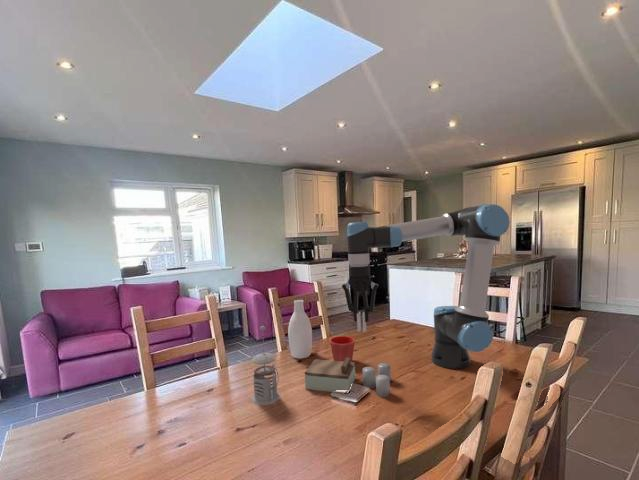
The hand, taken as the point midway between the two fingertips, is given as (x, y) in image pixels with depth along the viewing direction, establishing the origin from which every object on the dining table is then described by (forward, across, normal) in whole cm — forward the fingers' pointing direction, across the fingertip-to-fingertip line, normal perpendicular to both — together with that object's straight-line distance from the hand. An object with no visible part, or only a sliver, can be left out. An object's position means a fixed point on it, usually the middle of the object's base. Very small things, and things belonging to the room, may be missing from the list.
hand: (362, 330), depth 113 cm
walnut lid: (+15, +12, 0) cm, 20 cm away
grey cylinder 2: (+20, -6, -6) cm, 22 cm away
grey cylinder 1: (+20, -2, -2) cm, 21 cm away
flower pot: (+21, +12, -20) cm, 31 cm away
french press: (+21, +31, +15) cm, 40 cm away
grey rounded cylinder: (+21, -7, +4) cm, 22 cm away
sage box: (+20, +12, 0) cm, 24 cm away
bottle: (+21, +34, -24) cm, 46 cm away
